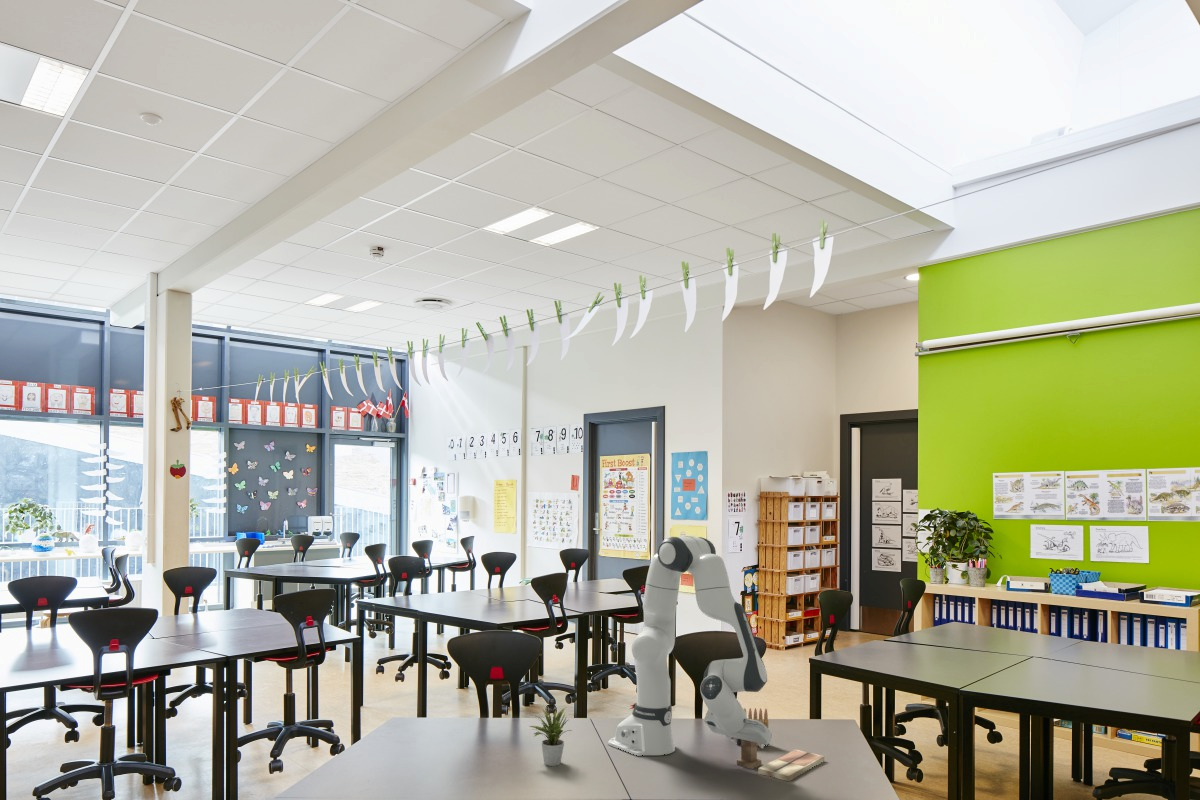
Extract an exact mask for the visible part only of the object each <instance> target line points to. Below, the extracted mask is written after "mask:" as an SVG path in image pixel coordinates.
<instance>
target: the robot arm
mask: <svg viewBox="0 0 1200 800" xmlns="http://www.w3.org/2000/svg"><path fill="white" fill-rule="evenodd" d="M716 553H717V551H716V547H715V546H714V544H713V542H711V541H710V540H709V539H707V538H705V537H702V536H692V535H691V536H690V535H684V536H671V537H668V538H665V539H664V540H662V541H661V542H660V543H659V545H658V547H657V552H656V553H655V554H654V555H653V557H652V558H651V561H650V564H649V568H648V572H647V576H646V581H645V586H644V587H645V589H644V593H643V594H644V596H643V602H642V610H643V611H642V612H643V626H642V631H640V632H639V633H638V634H637V635H636V636H635V637H634V639H633V642H632V646H631V654H632V657H633V663H634V668H635V675H636V702H635V703H633V704H632V705H630V707H629V710H632V713H631V714H630V715H629V716H627V717H626V718H625V719H623V720H622V721H621V722H619V723H618V725H617V727H616V730H615V735H614V736H613V737H612V738H610V739H609V740H608V744H607V745H608V746H611V747H613V748H615V749H618V748H619V749H618V750H620V749H621V750H620V751H623V750H624V752H625V751H626V753H628V752H629V753H628V754H630V753H631V755H633V754H634V755H633V756H636V755H637V757H638V756H639V757H642V755H643V756H665V755H668V754H672V753H674V752H675V751H676V746H675V743H674V739H673V738H674V737H673V733H672V717H673V714H672V713H673V710H672V704H671V678H670V674H669V668H668V655H670V654H671V653H672V651H673V649H674V646H675V644H676V643H675V642H676V614H677V605H678V598H679V597H678V596H679V591H680V582H681V581H680V580H681V578H682V577H681V576H682V575H683V573H686V572H688V573H689V574H690V575H691V576H692V578H693V579H692V580H693V584H694V591H695V599H696V604H697V607H698V609H699V610H700V611H701V613H702V614H704V615H705V616H707V617H708V618H710V619H713V620H716V621H719V622H720V621H721V622H724V623H727V624H729V625H730V626H731V627H732V628H733V629H734V630H735V632H736V637H737V639H738V642H739V645H740V648H741V651H742V655H743V656H742V657H739V658H728V659H727V658H725V659H717V660H716V659H715V660H712V661H710V662H709V664H708V665H707V667H706V669H705V670H704V673H703V680H702V681H701V683H700V687H699V688H700V690H699V691H700V694H701V698H702V700H703V702H704V704H705V706H706V708H707V711H706V713H705V716H704V719H703V721H704V723H705V724H706V726H707V728H708V729H709V730H710V731H711V732H712V733H714V734H717V735H723V736H725V737H726V738H728V739H730V741H731V742H733V743H736V741H737V738H738V739H743V740H747V741H751V742H756V743H757V749H764V747H765V746H764V745H768V744H769V745H770V743H771V741H772V736H773V733H772V732H771V731H770V729H769V727H768V728H767V727H766V726H765V725H764V724H763V723H762V722H760V721H757V720H758V719H757V720H753V718H752V719H748V715H746V713H747V711H746V712H745V711H744V708H743V707H742V704H741V703H740V702H739V700H738V699H736V695H735V694H734V693H737V692H738V693H739V692H747V693H750V692H751V693H757V692H759V691H761V690H762V689H763V688H764V686H765V685H766V684H767V682H768V673H767V670H766V666H765V664H764V661H763V659H762V657H761V655H760V651H759V648H758V645H757V641H756V639H755V635H754V632H753V629H752V626H751V623H750V621H749V618H748V615H747V613H746V610H745V608H744V607H743V605H742V604H741V603H739V602H737V601H736V599H735V597H734V596H733V594H732V590H731V585H730V580H729V575H728V571H727V567H726V564H725V562H724V560H723V558H722V557H721V556H720V555H719V554H716ZM664 754H665V755H664Z"/></svg>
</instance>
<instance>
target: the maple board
mask: <svg viewBox="0 0 1200 800" xmlns="http://www.w3.org/2000/svg"><path fill="white" fill-rule="evenodd" d="M823 761H824V762H825V756H824V755H821V754H817V753H811V752H808V751H804V750H799V749H796V748H795V749H793V750H791V751H789V752H787V753H785V754H783V755H781V756H780V757H778V758H776V759H774V760H771V761H770V762H767V763H766V764H764V765H761V766H759V767H757V772H758V774H759V775H763V776H767V777H770V776H771V778H774V777H775V778H774V779H778V780H782V781H785V782H790V781H792V780H794V779H795V778H797V777H798V775H799V776H801V775H802V774H805V773H806V772H807V770H808V771H809V769H810V770H811V769H813V768H815V767H817V766H818V765H820V764H822V763H824V762H823ZM821 762H822V763H821ZM816 765H817V766H816ZM814 766H815V767H814ZM812 767H813V768H812ZM805 771H806V772H805ZM800 774H801V775H800ZM793 778H794V779H793Z"/></svg>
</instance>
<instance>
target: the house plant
mask: <svg viewBox="0 0 1200 800" xmlns="http://www.w3.org/2000/svg"><path fill="white" fill-rule="evenodd" d="M565 710H566V707H564V708H562V709H561V710H560V711H558V713H557V710H554V713H553V717H551V715H550V714H549V713H548V712H547V711H545V710H544V709H543V708H541V711H542V712H543V713H544V716H545V719H546V722H545V721H544V719H543V718H541V717H540V716H537V715H533V714H531V716H532V717H535V718H537V719H539V720H540V721H541V724H542V726H543V727H541V726H537V725H529V727H530V728H533V729H532V730H534V731H536V730H537V732H534V733H533V735H534V737H536V736H539V735H543V736H544V737H545V739H544V740H542V741H541V752H542V757H543V764H544V765H545V766H550V767H555V766H560V765H561V764H562V757H563V752H564V748H565V747H564V746H565V741H564V739H563V740H562V739H560V738H561V736H562V735H563V734H564V733H566V732H573V730H572V729H568V730H565V731H564V730H562V729H563V728H564V726H565V725H566V723H567V722H568V721H569V719H567V718H568V715H569V714H567V715H566V712H565ZM563 713H564V714H563ZM540 731H541V732H540Z"/></svg>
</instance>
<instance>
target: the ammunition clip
mask: <svg viewBox="0 0 1200 800" xmlns="http://www.w3.org/2000/svg"><path fill="white" fill-rule="evenodd" d="M743 709H744V711H745V712H746V715H747V708H746V707H744V708H743ZM768 716H769V715H768V709H767V708H765V709H764V712H763V710H762V708H759V711H757V708H756V707H755V708H754V711H753V712H752V708H751V707H750V708H749V709H748V715H747V718H748V719H752V720H757V721H760V722H762V723H763V724H764V725H765V726H766V727H767V728H768V729H769V717H768ZM735 743H737V744H736V746H737V745H741V739H738V738H737V740H736V742H735ZM768 745H769V746H770V743H769V744H768ZM768 745H767V746H766V745H765V746H764V747H769V746H768Z"/></svg>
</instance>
